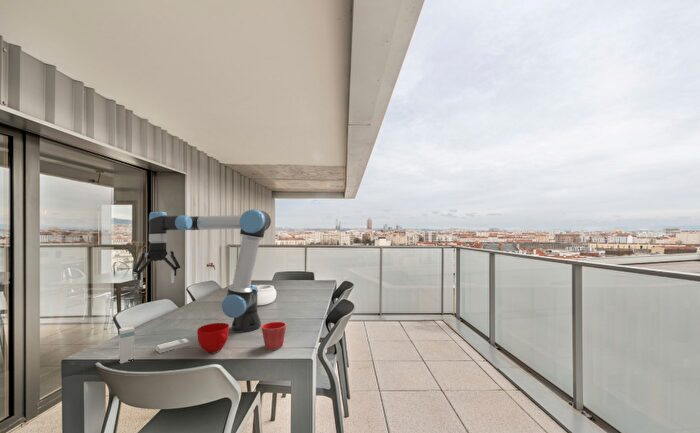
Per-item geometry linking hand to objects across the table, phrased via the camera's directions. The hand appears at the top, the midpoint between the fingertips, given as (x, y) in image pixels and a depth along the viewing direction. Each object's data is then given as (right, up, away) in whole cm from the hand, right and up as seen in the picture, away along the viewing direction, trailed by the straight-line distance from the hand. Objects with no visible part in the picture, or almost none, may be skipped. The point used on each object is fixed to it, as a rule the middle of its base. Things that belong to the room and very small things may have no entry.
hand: (157, 284), depth 149 cm
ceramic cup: (+37, -26, -18) cm, 49 cm away
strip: (+16, -26, -14) cm, 33 cm away
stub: (+4, -26, -26) cm, 37 cm away
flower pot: (+62, -25, -14) cm, 69 cm away
